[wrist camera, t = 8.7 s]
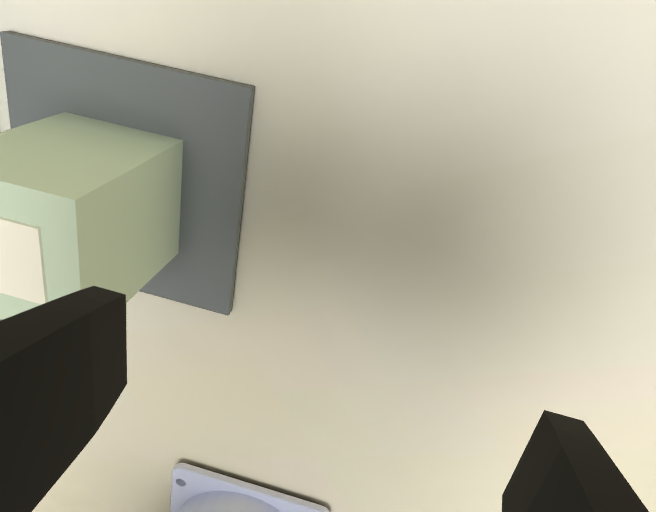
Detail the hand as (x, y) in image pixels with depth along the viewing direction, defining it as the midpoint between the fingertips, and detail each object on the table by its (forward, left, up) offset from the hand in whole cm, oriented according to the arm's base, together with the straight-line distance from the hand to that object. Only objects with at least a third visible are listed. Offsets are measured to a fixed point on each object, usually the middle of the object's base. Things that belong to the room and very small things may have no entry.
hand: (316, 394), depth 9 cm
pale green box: (-2, +10, -10) cm, 14 cm away
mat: (-2, +10, -10) cm, 14 cm away
